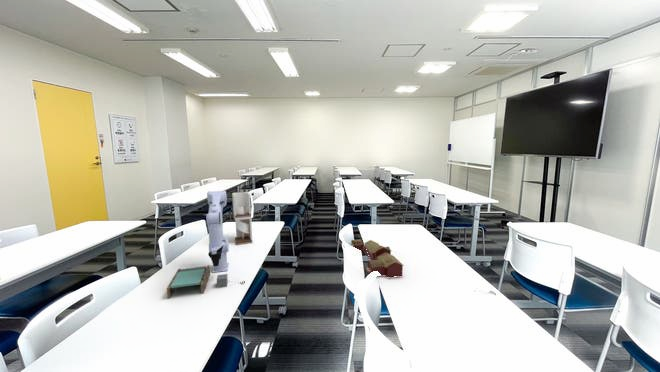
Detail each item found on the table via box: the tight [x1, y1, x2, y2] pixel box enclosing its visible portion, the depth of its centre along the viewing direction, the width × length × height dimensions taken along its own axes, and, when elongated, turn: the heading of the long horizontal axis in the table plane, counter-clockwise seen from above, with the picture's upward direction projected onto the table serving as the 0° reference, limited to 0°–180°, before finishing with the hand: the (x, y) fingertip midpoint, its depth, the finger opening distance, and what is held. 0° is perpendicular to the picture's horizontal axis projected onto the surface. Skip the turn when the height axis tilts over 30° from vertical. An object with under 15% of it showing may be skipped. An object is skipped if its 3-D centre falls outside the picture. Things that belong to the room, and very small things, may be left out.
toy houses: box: [349, 238, 405, 278], centre depth 156 cm, size 45×20×10 cm, turn 12°
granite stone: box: [216, 273, 229, 289], centre depth 128 cm, size 4×4×4 cm
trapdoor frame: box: [166, 264, 211, 300], centre depth 128 cm, size 20×15×5 cm
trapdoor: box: [170, 265, 207, 289], centre depth 127 cm, size 18×12×3 cm
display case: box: [231, 191, 253, 246], centre depth 185 cm, size 11×11×35 cm
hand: (217, 262), depth 130 cm, fingers open, 7 cm apart
